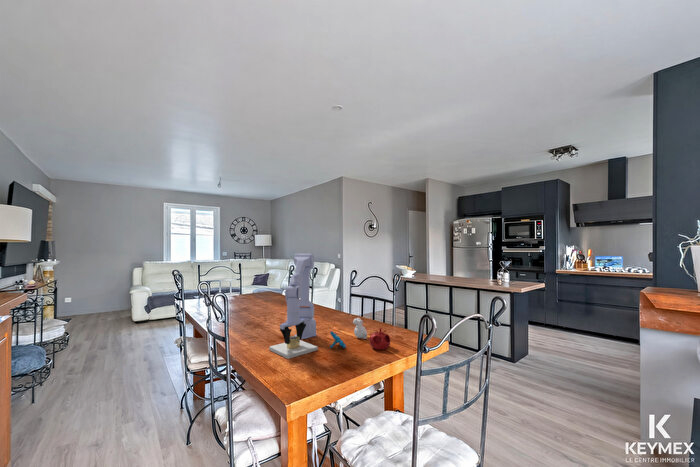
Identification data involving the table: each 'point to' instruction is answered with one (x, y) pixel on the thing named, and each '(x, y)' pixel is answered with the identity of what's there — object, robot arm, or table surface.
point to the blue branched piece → (337, 340)
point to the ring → (294, 343)
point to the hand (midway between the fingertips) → (293, 341)
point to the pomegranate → (380, 340)
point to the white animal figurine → (359, 329)
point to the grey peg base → (291, 353)
